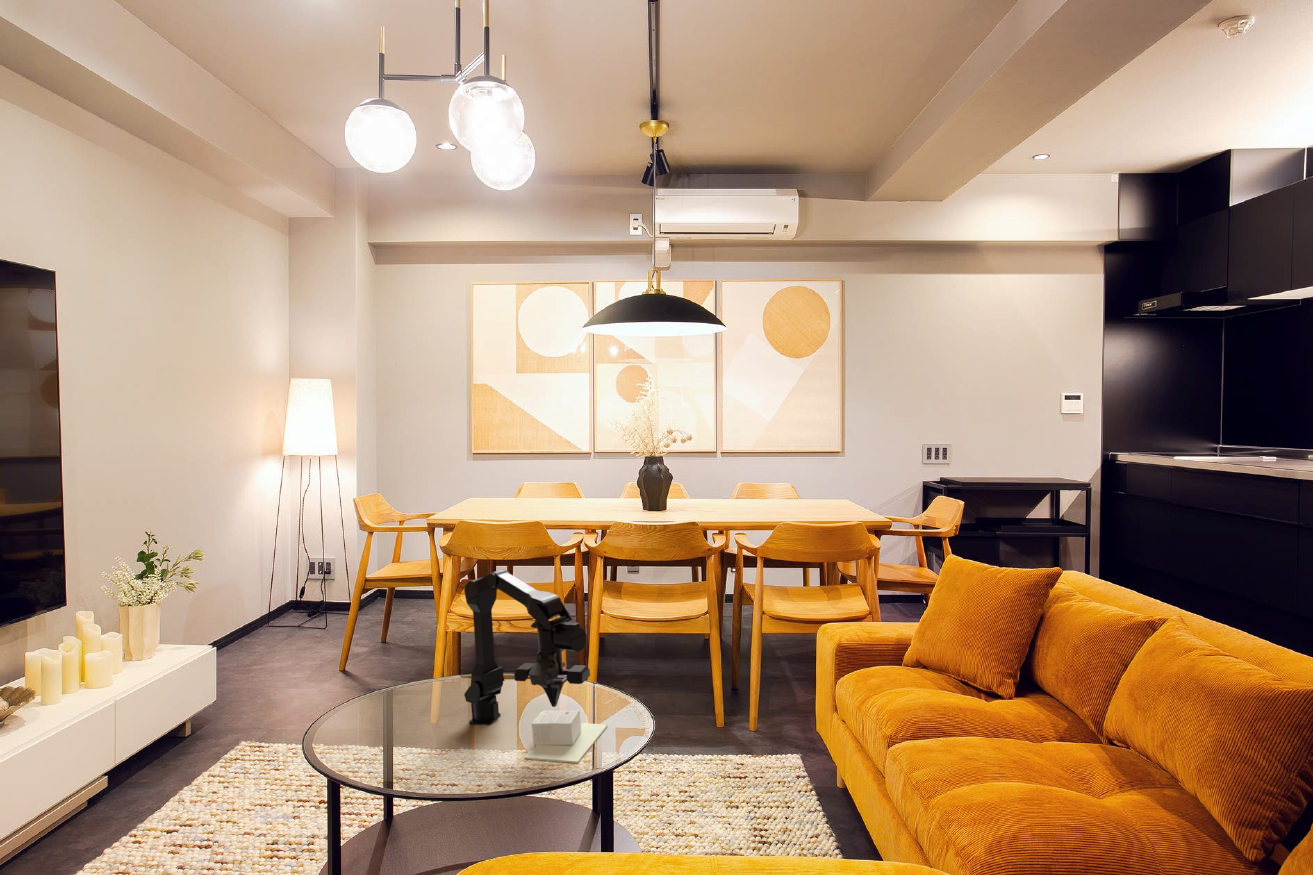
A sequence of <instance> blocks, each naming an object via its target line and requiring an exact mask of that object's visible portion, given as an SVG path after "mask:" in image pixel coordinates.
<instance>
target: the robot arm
mask: <svg viewBox="0 0 1313 875" xmlns="http://www.w3.org/2000/svg"><path fill="white" fill-rule="evenodd" d="M498 590H499V591H501V592H502V593H504V594H506V595H507V596H508V597H510V598H512V599H513V600H515V601H516V602H518V603H519V604H521V605H523V606H524V607H525V609H526V610H527V614H528V615H530V617H531V618H533V619H534V622H533V623H532V624H531V625H530V627H531V628H532V629H537V641H538V651H537V653H536V655H535V656H536V657H535V658H536V659H535V662H532V663H531V662H524V663H523V664H521V665H520V666H519V667H517V668H516V669H515V670H514V674H513V675H514V681H515V682H526V681H527V680H528V679H529V680H530V684H531V685H532V686H536V685H538V686H540V687H541V688H543V690H544V692H545V694H546V697H547V698H548V701H549V702H550V706H551V707H552V708H553V707H554V708H555V707H557V705H558V703H559V699H560V697H561V693H562V689H563V687H564V685H565V683H566V682H567V683H569V684H570V685H571V684H573V685H582V684H583V683H584V682H586V680H587V679H589V678H590V676H591V670H590V668H589V666H588V665H583V664H581V665H580V664H579V665H578V664H574V665H573V666H572V667H571V668H569V669H567V668H565V666H566V662H565V661H563V652H564V650H565V651H570V652H577V653H579V652H581V651H582V650H583V649H584V648H585V646H586V644H587V640H588V638H587V633H586V632H585V629H583V628H582V627H581V624H580V623H579V622H572V620H573V618H572V617H571V615H570V612H569V611H568V610H567V608H566V606H565V605H564V604H563V602H562V599H561V597H560V596H559V595H557V594H555V593H553V592H551V591H550V592H549V591H546V590H545V591H543V590H538V589H536V588H534V587H532V586H531V585H529V584H527V583H526V582H524V581H522V580H520V579H519V578H517V577H515V576H514V575H513V574H510V572H509V571H508V569H504V568H502V569H499V570H495V571H492V572H490V573H489V574H487V575H486V576H483V577H479V578H477V579H473V580H469V581H467V583H466V584H465V586H464V595H465V596H464V597H465V601H466V605H467V606H468V607H469V608H470V610H471V611H472V615H473V617H472V619H473V632H474V634H473V635H474V646H475V647H474V648H475V660H476V661H475V662H476V664H475V665H474V667H473V670H472V672H471V676H470V678H471V679H470V685H469V687H468V688H467V689H466V691H465V693H463V694H464V698H465V701H466V702H467V703H470V705H471V706H470V708H471V719H470V720H469V721H468V723H469V724H473V725H475V724H476V725H487V726H488V725H491V724H492V723H494V721H496V720H498V718H499V717H500V716H501V712H500V711H499V710H500V709H499V701H497V696H498V695H500V694H501V693H502V687H503V686H504V682H505V676H504V668H503V666H500V665H498V663H497V661H496V657H495V642H494V626H493V613H492V611H493V610H492V609H493V608H494V605H495V602H496V600H497V595H498V593H497V591H498Z"/></svg>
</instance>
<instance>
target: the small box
mask: <svg viewBox="0 0 1313 875" xmlns="http://www.w3.org/2000/svg"><path fill="white" fill-rule="evenodd" d="M581 720H582V719H581V710H541V712H540V713H539V714H538V715H537V716H536V718H535V719H534V720H533V722H532V723H531V730H532V731H531V732H532V740H533V741H532V742H533V745H534V746H536V745H573V744H574V742H575V740H576V739H577V737H578V735H579V734H580V732H581V723H582V722H581Z"/></svg>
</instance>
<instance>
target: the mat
mask: <svg viewBox="0 0 1313 875" xmlns="http://www.w3.org/2000/svg"><path fill="white" fill-rule="evenodd" d="M608 726H609V725H608V724H604V723H602V724H601V723H585V722H581V732H580V734H579V735H578V737H577V739H576V740H575V742H574V744H573V745H534V747H533V748H531V750H530V751H529V752H528V753H527V754H526V755H525V756H524V759H525V760H536V761H538V760H539V761H548V762H558V763H559V762H561V763H571V764H573V763H574V764H579V762H581V761H582V759H583V757H585V755H586V754H587V752H588V751H589V750H590V749H591V748H592V746H593V745H594V744H595V743H596V741H598V739H599V738H600V736H601V735H602V733H604V731H605V730H606V729H607V727H608Z"/></svg>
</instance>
